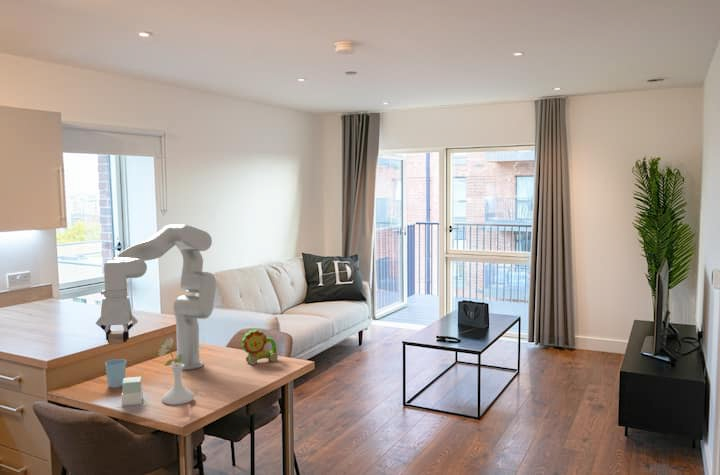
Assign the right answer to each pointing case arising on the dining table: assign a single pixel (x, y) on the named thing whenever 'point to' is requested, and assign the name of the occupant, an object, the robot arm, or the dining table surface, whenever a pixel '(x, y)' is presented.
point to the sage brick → (131, 385)
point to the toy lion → (258, 347)
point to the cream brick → (132, 398)
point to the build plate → (132, 404)
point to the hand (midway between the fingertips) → (117, 341)
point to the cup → (115, 372)
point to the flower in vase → (178, 391)
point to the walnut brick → (116, 337)
